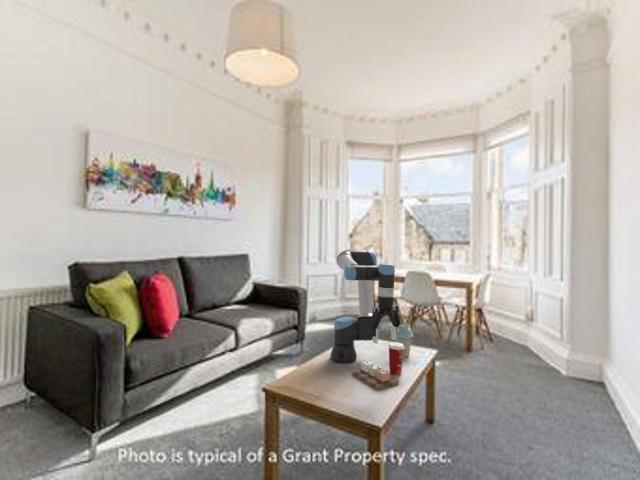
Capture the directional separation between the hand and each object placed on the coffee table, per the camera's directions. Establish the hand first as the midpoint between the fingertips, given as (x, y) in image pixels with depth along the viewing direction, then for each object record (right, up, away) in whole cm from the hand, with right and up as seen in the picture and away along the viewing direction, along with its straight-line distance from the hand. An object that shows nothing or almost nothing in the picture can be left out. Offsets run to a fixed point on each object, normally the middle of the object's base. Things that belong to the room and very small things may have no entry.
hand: (384, 341), depth 169 cm
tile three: (-1, -19, 0) cm, 19 cm away
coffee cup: (+9, -21, +15) cm, 27 cm away
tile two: (-4, -18, +6) cm, 20 cm away
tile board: (-4, -21, +6) cm, 22 cm away
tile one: (-7, -18, +11) cm, 22 cm away
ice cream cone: (+19, -21, +42) cm, 51 cm away
